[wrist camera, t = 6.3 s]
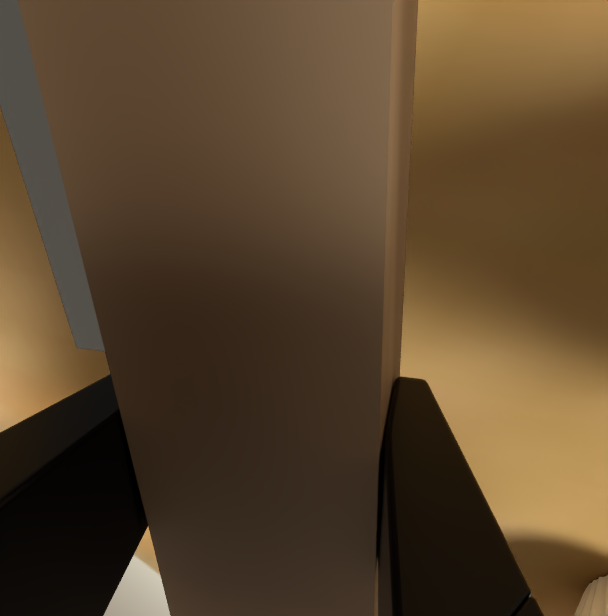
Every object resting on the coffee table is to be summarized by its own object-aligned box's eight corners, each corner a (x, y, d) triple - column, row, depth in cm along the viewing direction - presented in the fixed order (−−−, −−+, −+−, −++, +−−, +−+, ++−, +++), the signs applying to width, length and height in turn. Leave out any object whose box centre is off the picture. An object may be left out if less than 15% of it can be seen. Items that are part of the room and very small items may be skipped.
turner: (525, -141, 6) (582, -260, 3) (421, 753, 14) (412, 920, 12) (89, -96, 7) (-137, -159, 4) (235, 707, 15) (190, 848, 13)
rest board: (161, -744, 9) (114, -852, 8) (264, 344, 21) (251, 369, 20) (-172, -626, 11) (-255, -701, 9) (98, 326, 22) (76, 348, 21)
